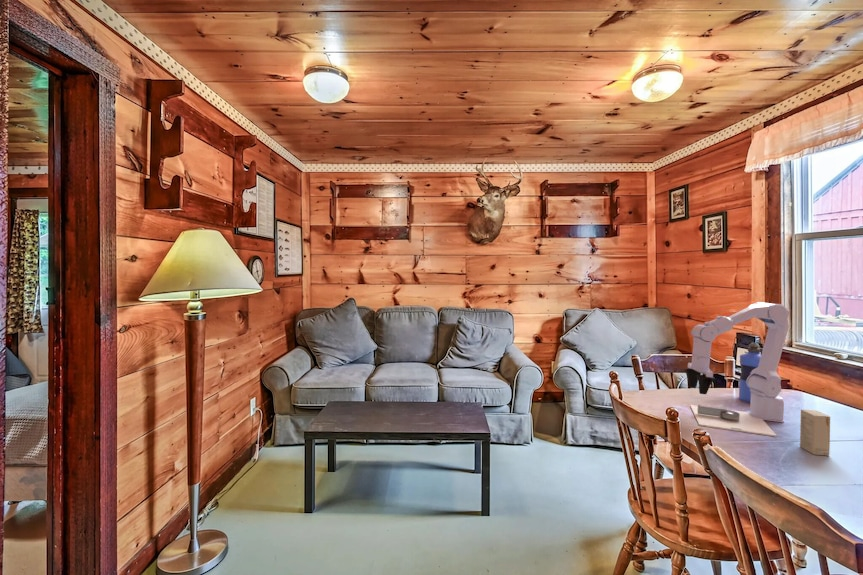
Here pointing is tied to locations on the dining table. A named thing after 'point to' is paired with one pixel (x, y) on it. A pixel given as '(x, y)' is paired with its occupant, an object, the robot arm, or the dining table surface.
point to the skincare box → (815, 432)
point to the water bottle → (748, 370)
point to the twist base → (734, 423)
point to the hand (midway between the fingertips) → (697, 390)
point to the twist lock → (718, 412)
